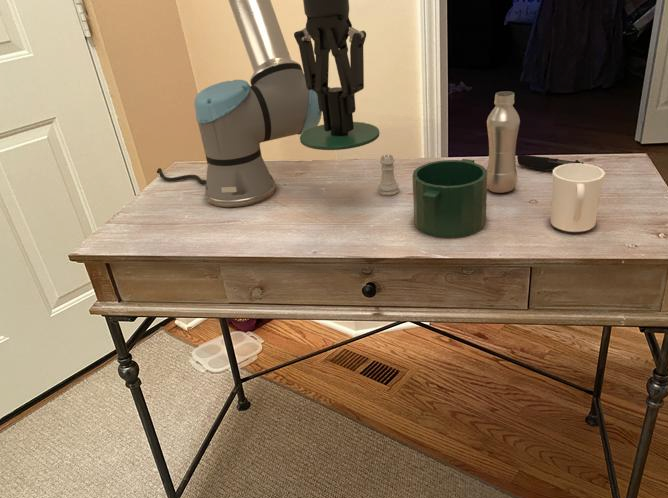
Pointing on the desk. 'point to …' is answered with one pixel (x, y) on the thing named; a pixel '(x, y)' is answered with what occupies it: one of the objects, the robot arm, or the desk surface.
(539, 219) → the desk surface
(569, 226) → the mug
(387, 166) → the rook chess piece
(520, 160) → the electric trimmer
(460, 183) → the pot
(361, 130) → the lid
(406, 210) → the desk surface
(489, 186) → the silver metal bottle
